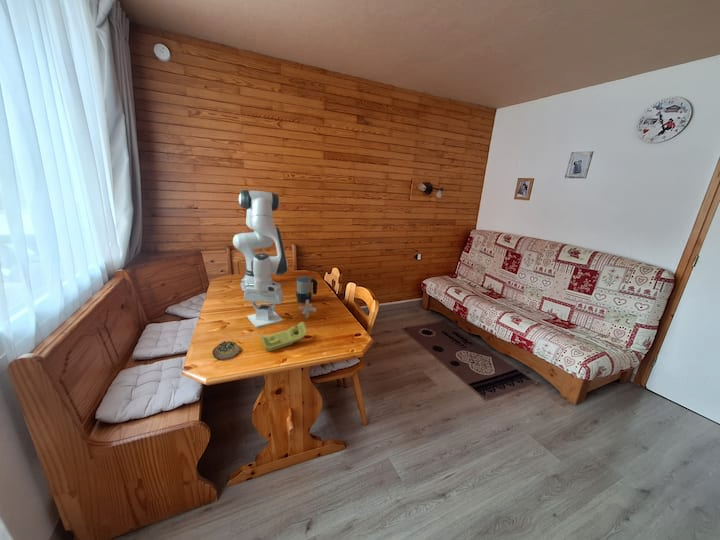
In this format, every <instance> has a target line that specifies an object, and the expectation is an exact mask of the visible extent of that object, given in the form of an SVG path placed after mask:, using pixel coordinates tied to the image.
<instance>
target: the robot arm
mask: <svg viewBox="0 0 720 540" xmlns="http://www.w3.org/2000/svg"><path fill="white" fill-rule="evenodd" d="M238 203H239V205H240V207H241V208H242V209H245V210H246V217H245V224H246V226H247V227H248V228H249V229H251V230H252V232H241V233H237V234H234V236H233V238H232V244H233V247H234V248H235V249H237V251H239V252H241V253H242V255H243V257H244V258H245V265H246V266H245V267H246V269H245V275H244V276H243V278H241V282H240V283H239V285H240V287H241V291H242V292H244V293H243V299H244V301H245V302H250V303H251V305H252V306H253V309H254V310H256V308H258V307H259V306H258V304H256V303H263V304H271V305H273V307H271V311H274V312H275V310H276V309H275V308H276V305H280V304H282V303H283V302H284V295H283V290H282V289H281V288H282V284H281V283H279V282H276V281H274V280H273V279H272V275H284V274H286V272H287V271H288V269H289V263H288V259H287V257H286V252H285V248H284V242H283V239H282V234H281V231H280V229H279V227H277V226H276V225H275V222H274V219H273V218H274V216H273V212H275V211H277V210H278V209H279V206H280V197H279V195H278V194H276V193H274V192H270V191H269V192H268V191H264V190H248V189H244V190H241V191H240V193H239V195H238ZM273 244H275V249H276V253H277V255H274V256H270V255H269V254H267V253H264V252H260V253H259V252H258V253H257V252H255V250H256V249H257V250H258V249H265V248H269V247H271V246H272V245H273Z"/></svg>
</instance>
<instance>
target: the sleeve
mask: <svg viewBox="0 0 720 540" xmlns="http://www.w3.org/2000/svg"><path fill="white" fill-rule="evenodd" d="M257 307H258V308H256V309H255V314H256V320H265V321H269V320H270V319H271V317H272V316H273V311H271V307H273V305H272V304H266V303H263V304H261V303H260V305H259V306H257ZM262 308H267V309H262Z"/></svg>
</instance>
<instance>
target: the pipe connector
mask: <svg viewBox="0 0 720 540" xmlns="http://www.w3.org/2000/svg"><path fill="white" fill-rule="evenodd" d="M297 309H298V310H299V311H300V310H301V311H302V315H305V318H306V319H309V318H310V312H314V313H315V312H317V308H315V307H313V304H312V303H310V302H309V300H306V303H305V306H303V305H302V306H301V305H298V307H297Z"/></svg>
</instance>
